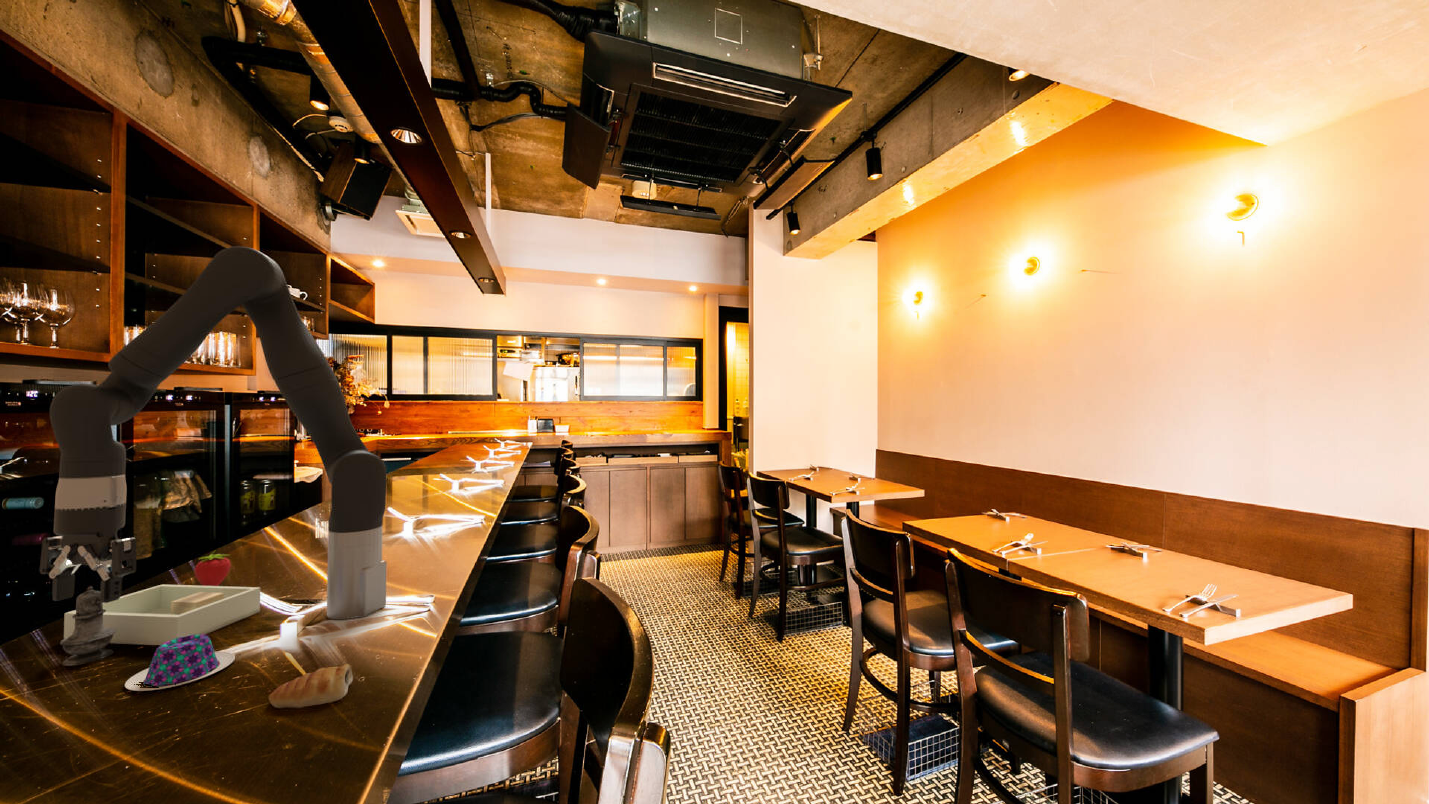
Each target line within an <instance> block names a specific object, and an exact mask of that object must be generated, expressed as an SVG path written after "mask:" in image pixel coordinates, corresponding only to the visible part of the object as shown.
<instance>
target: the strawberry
mask: <svg viewBox="0 0 1429 804" xmlns="http://www.w3.org/2000/svg"><path fill="white" fill-rule="evenodd" d="M214 553H215V551H212V554H211V553H210V555H207V556H201V557H200V558H198V560H201V561H199V562H198V563H197V564H196V565H195V567H194V574H195V577H196V580H197V581H198V582H199V583H200V584H201V586H220V584H222V582H223V581H224V579H225V578H227V576H228V574H229V572H230V569H231V568H232V567H231V566H232V565H231V561H230V559H229V558H227V556H230V554H222V553H217V554H214Z"/></svg>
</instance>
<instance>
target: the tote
mask: <svg viewBox="0 0 1429 804" xmlns="http://www.w3.org/2000/svg"><path fill="white" fill-rule="evenodd" d="M199 592H211V593H224V599H222V600H219V601H216V602H213V603H211V604H208V605H205V606H202V607H199V608H197V609H194V610H191V611H188V612H185V613H183V614H180V615H171V602H172V601H175V600H178V599H181V598H184V597H187V596H190V595H193V594H196V593H199ZM103 609H105V610H106V612H104V613H103V624H104V627H105V628H107V629H115V630H116V632H115V633H114V634H113V638H112V640H111V641H110V643H109V644H122V645H123V644H124V645H127V644H128V645H146V646H147V645H148V646H160V645H162V644H163V643H165V642H168V641H171V640H173V639H176V638H179V637H186V636H189V635H196V634H197V635H202V634H204V635H207V634H209V633H211V632H214V631H217V630H219V629H221V628H223V627H226V626H228V625H229V626H230V625H231V624H234V623H236V622H239V621H241V620H243V619H246V618H248V617H251V616H253V615H256V614H258V613H260V612H261V587H253V586H226V585H225V586H223V585H221V586H220V585H218V586H203V585H193V584H191V585H187V584H160V585H156V586H151V587H149V588H146V589H141V590H138V591H136V592H132V593H128V594H125V595H122V596H120V598H119V599H118V600H115V601H111V602H108V603H103ZM75 614H76V609H75V610H71V611H68V612H65V613H64V618H63V619H64V621H63V626H64V627H63V640H64V639H65V638H68V637H70V636H71V635H72V634H73V632H74V629H75V618H72V616H73V615H75Z"/></svg>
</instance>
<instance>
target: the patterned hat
mask: <svg viewBox="0 0 1429 804" xmlns="http://www.w3.org/2000/svg"><path fill="white" fill-rule="evenodd" d="M152 656H153V657H152V659H151V662H150V665H149V667H148V668H146V669H143V670H141V671H139V672H138V673H136V674H134V675H132V676H130V678H128V679H127V680H126V682H125V683H124V687H125V688H126V689H127V690H129V691H137V692H143V691H154V690H155V691H156V690H163V689H167V688H168V689H169V688H172V687H177V686H182V685H185V684H189V683H192V682H195V681H198V680H200V679H204V678H206V677H208V676H211V675H213V674H215V673H217V672H219V671H221V670H223V669H225V668H227V667H228V666H229V665H231V664H232V663H233V662H234V661H235V659H236V655H235V654H234V653H232V652H229V651H215V649H214V646H213V644H212V640H211V638H210V636H209V635H207V634H205V635H204V634H202V635H197V634H196V635H189V636H186V637H179V638H176V639H173V640H171V641H168V642H165V643H163V644H162V645H159V647H156V649H155V651H154V654H153V655H152ZM211 670H212V671H211ZM139 682H143V685H145V684H149V685H151V686H150V687H152V686H157V687H159V688H140V687H141V686H140V685H139V686H138V685H136V684H141V683H139ZM134 684H135V685H134ZM166 684H167V685H166ZM175 684H176V685H175ZM142 687H143V686H142Z"/></svg>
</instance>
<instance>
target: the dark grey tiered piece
mask: <svg viewBox="0 0 1429 804" xmlns="http://www.w3.org/2000/svg"><path fill="white" fill-rule="evenodd" d="M86 589H87V590H86V591H84V592H82V593H80V594H79V595H78V596H77V597H76V599H75V610H76V614H75V615H73V616H72V618H75V629H74V632H73V634H72V635H71V636H70V637H68V638H65V639H64V638H63V639H62V640H61V641H60V642H59V644H60V645H61V646H62V649H63V650H64V652H65V653H66V654H69V655H71V656H69V657H68V658H66V659H65V660H63V661H62V665H63V666H68V667H69V666H72V667H73V666H79V665H83V664H89V663H92V662H95V661H99V660H102V659H105V658H106V657H108V656H110V655H112V654H113V653H114V651H113V650H112V649H108V648H105V647H106V646H108V645H109V644H111V643H110V641H111V640H112V638H113V634H114V633H115V632H116V630H115V629H107V628H105V627H104V624H103V613H104V612H106V610H105V609H103V603H101V602H100V591H99V590H95V589H93V586H91V585H89V586H88V587H87V588H86Z"/></svg>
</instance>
